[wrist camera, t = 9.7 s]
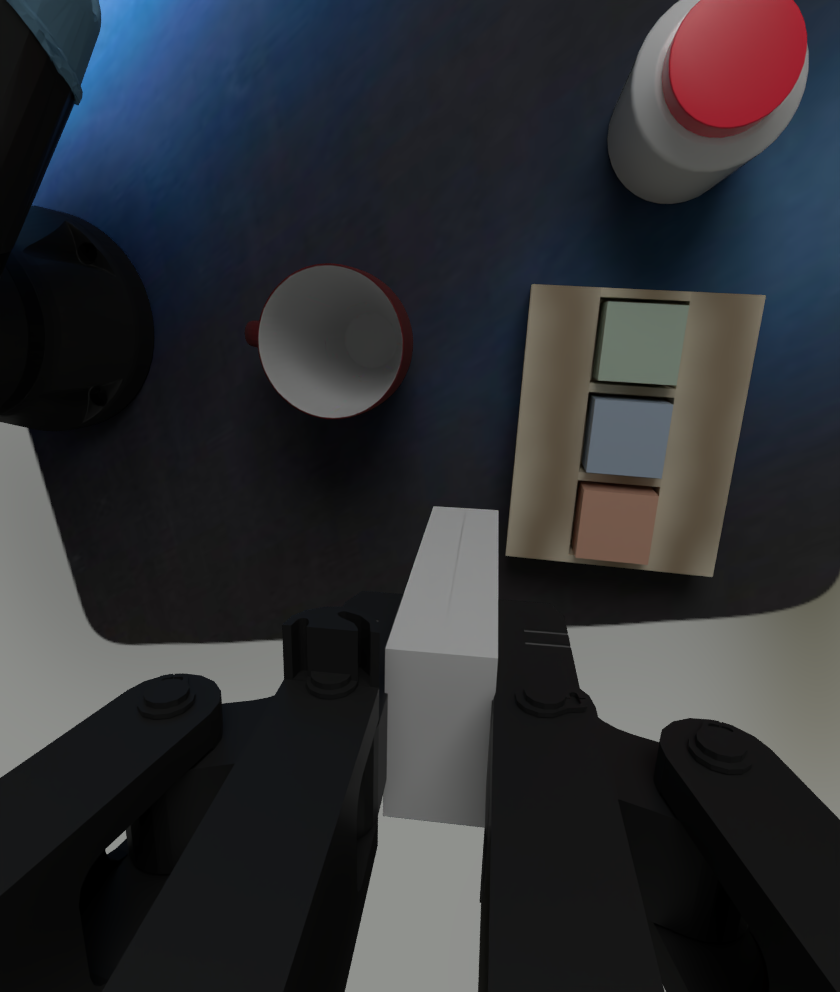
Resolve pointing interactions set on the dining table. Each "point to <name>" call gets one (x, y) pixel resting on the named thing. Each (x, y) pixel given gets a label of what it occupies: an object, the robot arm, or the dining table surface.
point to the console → (696, 399)
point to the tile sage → (640, 342)
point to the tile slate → (626, 436)
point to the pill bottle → (707, 95)
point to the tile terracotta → (614, 522)
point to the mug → (333, 341)
